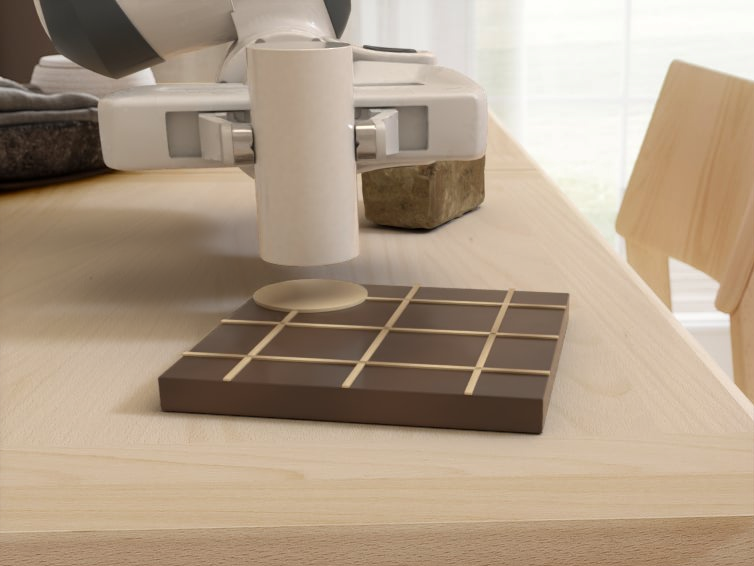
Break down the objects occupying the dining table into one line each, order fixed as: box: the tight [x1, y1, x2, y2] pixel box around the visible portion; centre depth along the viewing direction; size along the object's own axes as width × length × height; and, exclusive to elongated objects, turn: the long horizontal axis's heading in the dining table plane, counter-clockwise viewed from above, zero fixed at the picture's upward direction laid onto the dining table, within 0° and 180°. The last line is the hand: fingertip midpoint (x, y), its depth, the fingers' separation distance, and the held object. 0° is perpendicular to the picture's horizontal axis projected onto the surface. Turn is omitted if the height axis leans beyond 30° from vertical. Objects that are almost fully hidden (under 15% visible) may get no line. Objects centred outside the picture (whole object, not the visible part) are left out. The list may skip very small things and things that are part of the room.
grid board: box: [157, 278, 570, 434], centre depth 55 cm, size 16×16×2 cm
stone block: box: [360, 154, 486, 229], centre depth 85 cm, size 6×12×5 cm, turn 159°
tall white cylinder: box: [245, 41, 360, 268], centre depth 57 cm, size 5×5×10 cm
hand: (306, 145), depth 56 cm, fingers closed on tall white cylinder, 5 cm apart
